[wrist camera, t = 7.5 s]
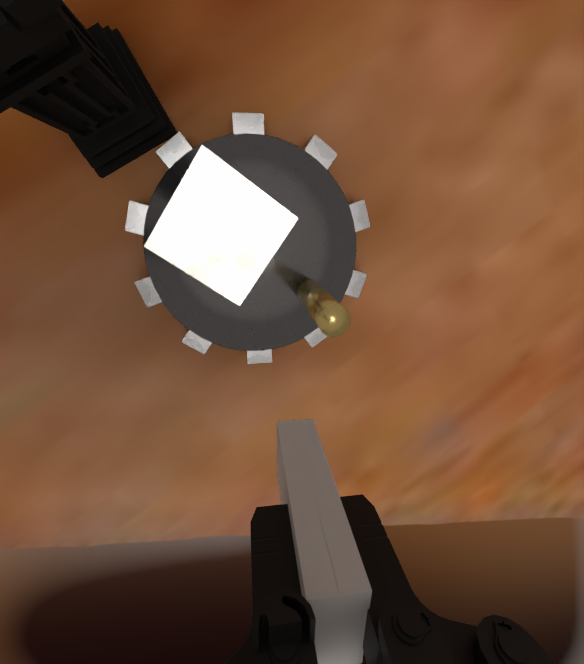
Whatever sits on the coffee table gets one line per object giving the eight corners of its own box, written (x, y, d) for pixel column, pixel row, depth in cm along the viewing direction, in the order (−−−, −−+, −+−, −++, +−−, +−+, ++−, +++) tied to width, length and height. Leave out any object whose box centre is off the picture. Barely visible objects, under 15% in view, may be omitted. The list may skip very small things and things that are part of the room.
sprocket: (281, 389, 38) (296, 460, 27) (91, 283, 32) (7, 320, 20) (406, 222, 34) (486, 225, 23) (215, 56, 27) (194, -58, 16)
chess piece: (38, 83, 27) (-427, -215, 8) (120, 33, 27) (-173, -398, 8) (103, 177, 30) (-134, 113, 11) (177, 133, 29) (62, -10, 11)
